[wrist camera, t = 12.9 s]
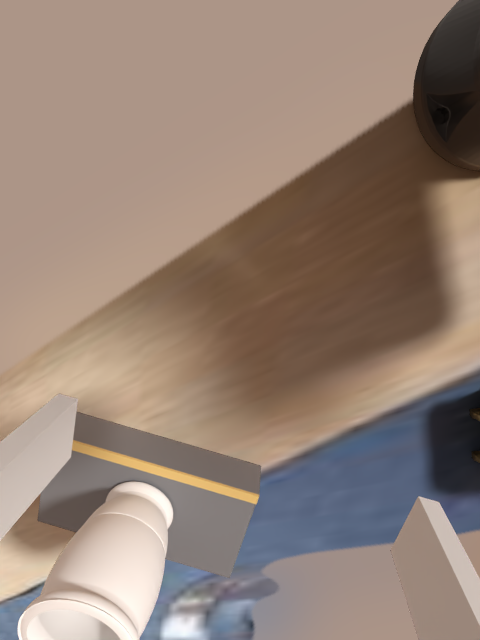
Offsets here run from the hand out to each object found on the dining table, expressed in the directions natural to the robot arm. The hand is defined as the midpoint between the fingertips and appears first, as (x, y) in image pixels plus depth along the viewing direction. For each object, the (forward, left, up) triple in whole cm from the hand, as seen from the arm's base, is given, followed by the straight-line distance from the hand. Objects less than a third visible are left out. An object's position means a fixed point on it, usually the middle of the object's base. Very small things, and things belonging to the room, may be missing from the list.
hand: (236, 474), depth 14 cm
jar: (+7, +29, -24) cm, 38 cm away
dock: (+7, +29, -28) cm, 41 cm away
